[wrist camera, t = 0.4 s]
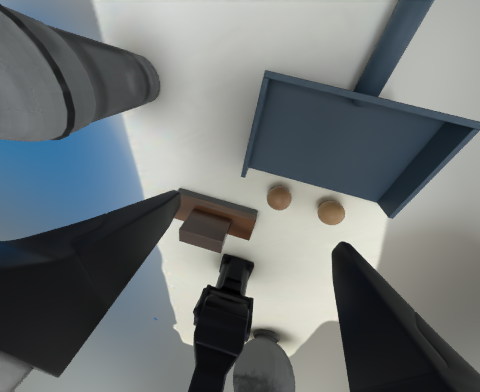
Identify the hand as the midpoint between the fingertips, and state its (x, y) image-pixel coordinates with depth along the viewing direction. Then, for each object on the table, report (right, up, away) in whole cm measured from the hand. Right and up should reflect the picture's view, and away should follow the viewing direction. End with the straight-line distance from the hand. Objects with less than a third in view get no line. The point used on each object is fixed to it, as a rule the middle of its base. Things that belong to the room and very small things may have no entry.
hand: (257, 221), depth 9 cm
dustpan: (+10, +11, +7) cm, 17 cm away
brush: (-5, -1, +19) cm, 20 cm away
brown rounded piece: (+4, +1, +14) cm, 14 cm away
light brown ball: (+11, -1, +13) cm, 17 cm away
